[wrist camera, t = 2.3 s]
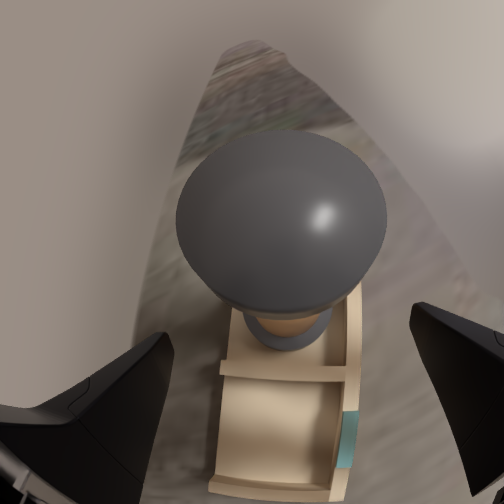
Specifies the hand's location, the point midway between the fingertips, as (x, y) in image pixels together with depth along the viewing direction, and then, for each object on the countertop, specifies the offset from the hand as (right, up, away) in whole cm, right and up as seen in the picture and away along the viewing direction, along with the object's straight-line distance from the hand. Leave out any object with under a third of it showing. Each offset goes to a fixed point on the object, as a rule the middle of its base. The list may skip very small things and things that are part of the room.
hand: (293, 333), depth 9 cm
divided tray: (+1, -6, +9) cm, 11 cm away
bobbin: (+1, -1, +10) cm, 10 cm away
